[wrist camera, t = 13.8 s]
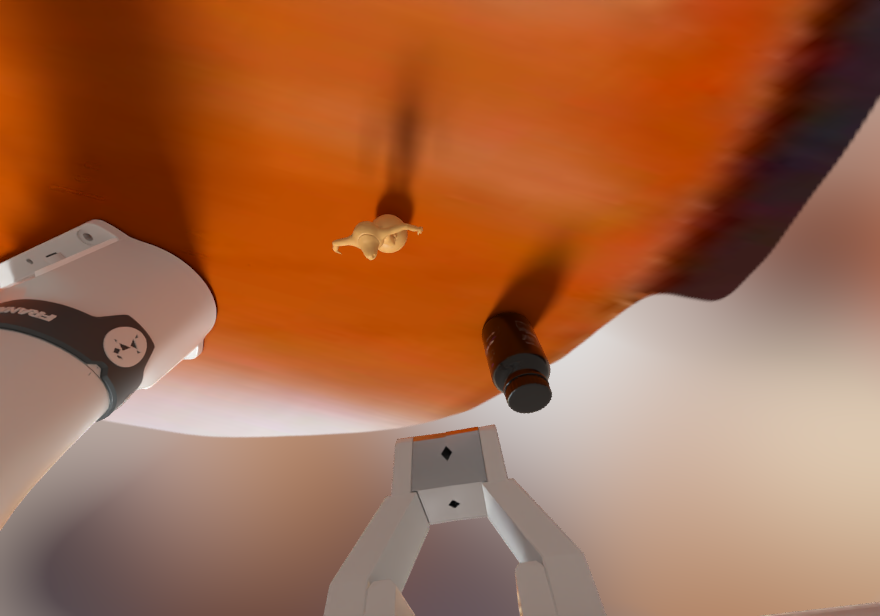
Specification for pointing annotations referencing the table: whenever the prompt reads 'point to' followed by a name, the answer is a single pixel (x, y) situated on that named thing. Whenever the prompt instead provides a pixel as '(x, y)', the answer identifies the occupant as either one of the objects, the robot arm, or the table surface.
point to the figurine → (378, 236)
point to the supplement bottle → (517, 362)
